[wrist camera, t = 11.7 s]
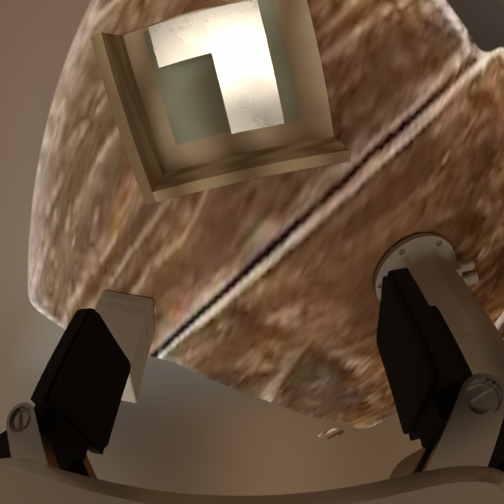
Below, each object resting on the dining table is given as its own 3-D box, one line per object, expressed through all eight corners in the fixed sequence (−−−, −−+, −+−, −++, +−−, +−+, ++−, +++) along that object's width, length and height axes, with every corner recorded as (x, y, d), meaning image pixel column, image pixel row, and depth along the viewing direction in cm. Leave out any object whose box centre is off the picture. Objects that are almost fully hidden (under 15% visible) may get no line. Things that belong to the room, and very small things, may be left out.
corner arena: (302, -8, 21) (314, -24, 16) (333, 143, 30) (350, 161, 25) (117, 40, 23) (90, 37, 18) (162, 180, 32) (146, 205, 27)
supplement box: (103, 288, 40) (70, 359, 30) (154, 297, 41) (131, 374, 30) (109, 324, 44) (84, 392, 34) (155, 333, 45) (137, 405, 34)
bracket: (277, 112, 27) (284, 123, 22) (193, 130, 28) (181, 146, 23) (255, 12, 22) (256, -1, 17) (167, 33, 23) (148, 27, 18)
